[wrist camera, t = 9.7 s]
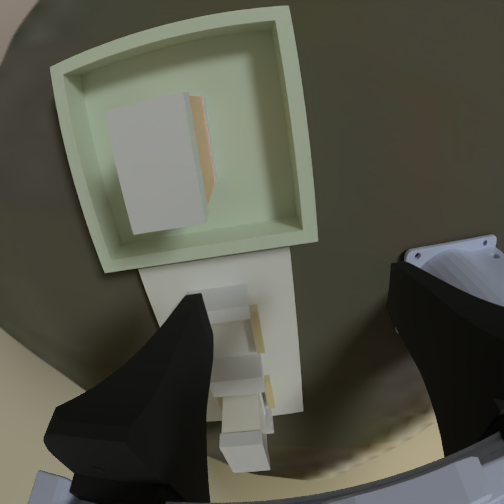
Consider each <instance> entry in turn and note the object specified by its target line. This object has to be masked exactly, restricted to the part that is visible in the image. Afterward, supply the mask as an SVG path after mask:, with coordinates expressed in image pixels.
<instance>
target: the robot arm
mask: <svg viewBox="0 0 504 504" xmlns="http://www.w3.org/2000/svg"><path fill="white" fill-rule="evenodd" d="M496 239H497V238H496V236H494V235H493V234H491V235H485V236H480V237H475V238H469V239H464V240H458V241H453V242H447V243H442V244H436V245H430V246H425V247H419V248H413V249H409V250H408V251H406V253H405V255H404V261H403V262H397V263H392V264H391V272H390V283H389V293H388V303H387V308H388V310H389V313H390V315H391V318H392V320H393V323H394V325H395V330H396V332H397V333H399V335H400V336H401V338H402V340H403V342H404V344H405V345H406V347H407V349H408V351H409V353H410V354H411V356H412V358H413V360H414V362H415V363H416V365H417V367H418V369H419V371H420V373H421V375H422V378H423V380H424V383H425V385H426V388H427V391H428V394H429V396H430V400H431V403H432V406H433V409H434V412H435V416H436V419H437V423H438V427H439V431H440V435H441V440H442V446H443V451H444V458H442V459H439V460H437V461H434V462H432V463H429V464H426V465H424V466H421V467H418V468H415V469H413V470H410V471H407V472H404V473H401V474H397V475H394V476H391V477H388V478H385V479H381V480H377V481H374V482H370V483H366V484H362V485H358V486H354V487H350V488H345V489H341V490H336V491H331V492H325V493H320V494H315V495H309V496H301V497H294V498H286V499H278V500H267V501H255V502H240V503H238V502H237V503H210V495H209V484H208V468H207V439H206V416H207V404H208V396H209V388H210V381H211V373H212V365H213V356H214V340H213V331H212V328H211V324H210V321H209V318H208V314H207V311H206V307H205V304H204V300H203V297H202V293H197V294H189V295H185V296H184V298H183V299H182V300H181V301H180V303H179V304H178V305H177V307H176V308H175V309H174V310H173V312H172V313H171V314H170V316H169V317H168V318H167V320H166V321H165V322H164V323H163V325H162V326H161V327H160V328H159V329H158V331H157V332H156V333H155V334H154V335H153V336H152V337H151V338H150V340H149V341H148V342H147V343H146V344H145V345H144V346H143V347H142V348H141V349H140V350H139V351H138V352H137V353H136V354H135V355H134V356H133V357H132V358H131V359H130V360H129V361H128V362H126V363H125V364H124V365H123V366H122V367H120V368H119V369H118V370H117V371H115V372H114V373H113V374H111V375H110V376H109V377H108V378H106V379H105V380H103V381H102V382H100V383H99V384H98V385H96V386H95V387H93V388H91V389H90V390H88V391H86V392H85V393H83V394H81V395H80V396H78V397H76V398H74V399H72V400H70V401H68V402H66V403H64V404H62V405H60V406H58V407H56V409H55V411H54V413H53V416H52V418H51V420H50V423H49V426H48V428H47V430H46V433H45V436H44V443H45V445H46V447H47V449H48V450H49V451H50V452H51V453H52V454H53V455H54V456H55V457H56V458H57V459H58V460H59V461H60V462H62V463H63V464H64V465H65V466H66V467H67V468H69V469H70V470H71V471H72V472H73V473H74V476H73V480H72V481H71V480H70V479H68V478H65V477H63V476H59V475H55V474H52V473H48V472H45V471H41V470H40V471H38V473H37V476H36V479H35V482H34V485H33V488H32V491H31V495H30V498H29V501H28V504H504V254H503V253H502V252H501V251H500V250H498V249H497V248H496V247H495V246H496ZM483 242H484V243H483ZM417 253H418V255H417V256H416V257H415V255H416V254H417Z"/></svg>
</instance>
